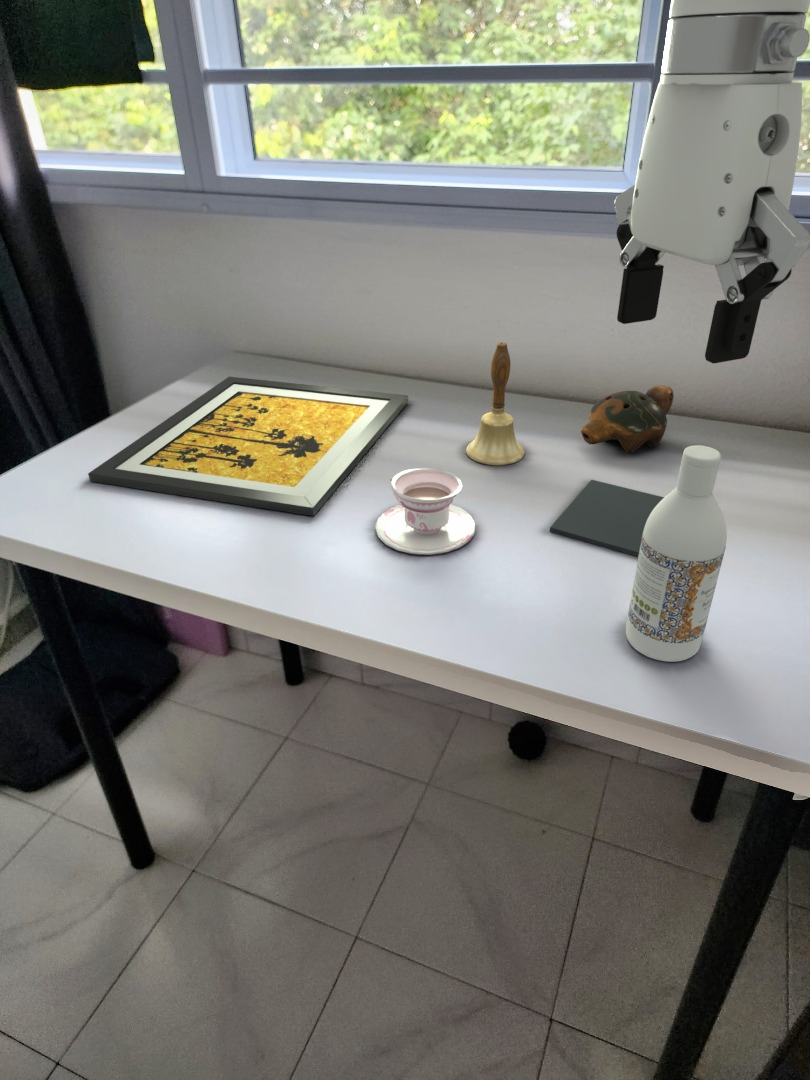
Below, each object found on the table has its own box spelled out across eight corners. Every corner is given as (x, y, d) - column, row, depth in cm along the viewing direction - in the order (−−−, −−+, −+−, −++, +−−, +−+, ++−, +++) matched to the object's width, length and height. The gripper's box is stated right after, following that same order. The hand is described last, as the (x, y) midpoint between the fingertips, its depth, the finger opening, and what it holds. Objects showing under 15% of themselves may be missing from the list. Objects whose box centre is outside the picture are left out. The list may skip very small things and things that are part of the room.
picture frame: (228, 376, 131) (408, 395, 123) (229, 382, 132) (408, 401, 123) (87, 473, 101) (313, 507, 92) (89, 481, 102) (314, 516, 93)
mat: (699, 510, 93) (700, 506, 92) (667, 565, 83) (668, 560, 82) (590, 483, 99) (591, 479, 99) (549, 531, 89) (549, 527, 89)
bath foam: (676, 675, 68) (722, 480, 57) (610, 640, 72) (642, 452, 61) (713, 640, 72) (763, 451, 61) (648, 608, 76) (685, 427, 65)
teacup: (493, 520, 91) (495, 475, 88) (442, 568, 83) (443, 520, 80) (410, 495, 97) (410, 452, 94) (355, 537, 89) (352, 491, 85)
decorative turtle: (687, 442, 109) (697, 391, 104) (610, 475, 103) (617, 423, 98) (638, 416, 116) (645, 368, 111) (562, 446, 110) (567, 396, 105)
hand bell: (536, 451, 107) (545, 341, 99) (500, 471, 102) (507, 357, 94) (490, 435, 112) (495, 329, 104) (454, 453, 107) (456, 344, 99)
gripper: (905, 51, 39) (814, 369, 48) (683, 56, 52) (645, 303, 62) (794, 53, 37) (720, 387, 46) (592, 58, 50) (567, 314, 59)
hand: (677, 338), depth 54 cm, fingers open, 9 cm apart
